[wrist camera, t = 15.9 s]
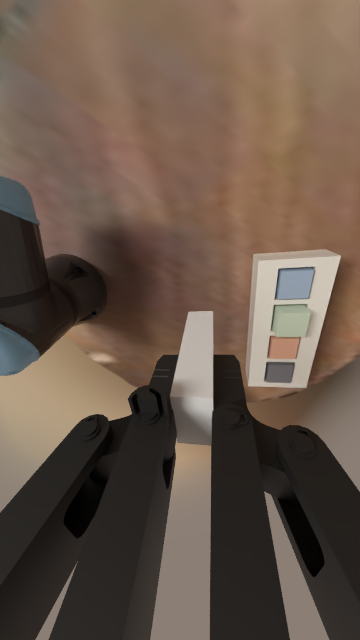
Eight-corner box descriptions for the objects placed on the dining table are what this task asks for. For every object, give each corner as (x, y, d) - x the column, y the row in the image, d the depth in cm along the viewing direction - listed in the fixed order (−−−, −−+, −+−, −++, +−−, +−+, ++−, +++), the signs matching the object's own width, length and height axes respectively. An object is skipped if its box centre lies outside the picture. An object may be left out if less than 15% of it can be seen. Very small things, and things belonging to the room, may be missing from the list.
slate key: (273, 292, 39) (278, 299, 36) (276, 266, 37) (281, 271, 34) (301, 291, 38) (308, 298, 35) (306, 265, 36) (314, 270, 33)
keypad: (245, 370, 52) (248, 386, 48) (253, 254, 38) (258, 260, 34) (297, 371, 50) (306, 387, 46) (325, 249, 37) (340, 255, 32)
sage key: (272, 328, 40) (276, 337, 38) (275, 305, 38) (279, 313, 35) (299, 328, 40) (305, 336, 37) (304, 304, 37) (310, 312, 35)
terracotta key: (266, 349, 45) (269, 358, 42) (268, 330, 43) (272, 338, 40) (290, 349, 44) (295, 359, 42) (294, 330, 42) (299, 338, 39)
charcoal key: (263, 372, 48) (266, 382, 46) (265, 356, 46) (268, 365, 43) (286, 373, 47) (290, 383, 45) (289, 356, 45) (293, 365, 42)
